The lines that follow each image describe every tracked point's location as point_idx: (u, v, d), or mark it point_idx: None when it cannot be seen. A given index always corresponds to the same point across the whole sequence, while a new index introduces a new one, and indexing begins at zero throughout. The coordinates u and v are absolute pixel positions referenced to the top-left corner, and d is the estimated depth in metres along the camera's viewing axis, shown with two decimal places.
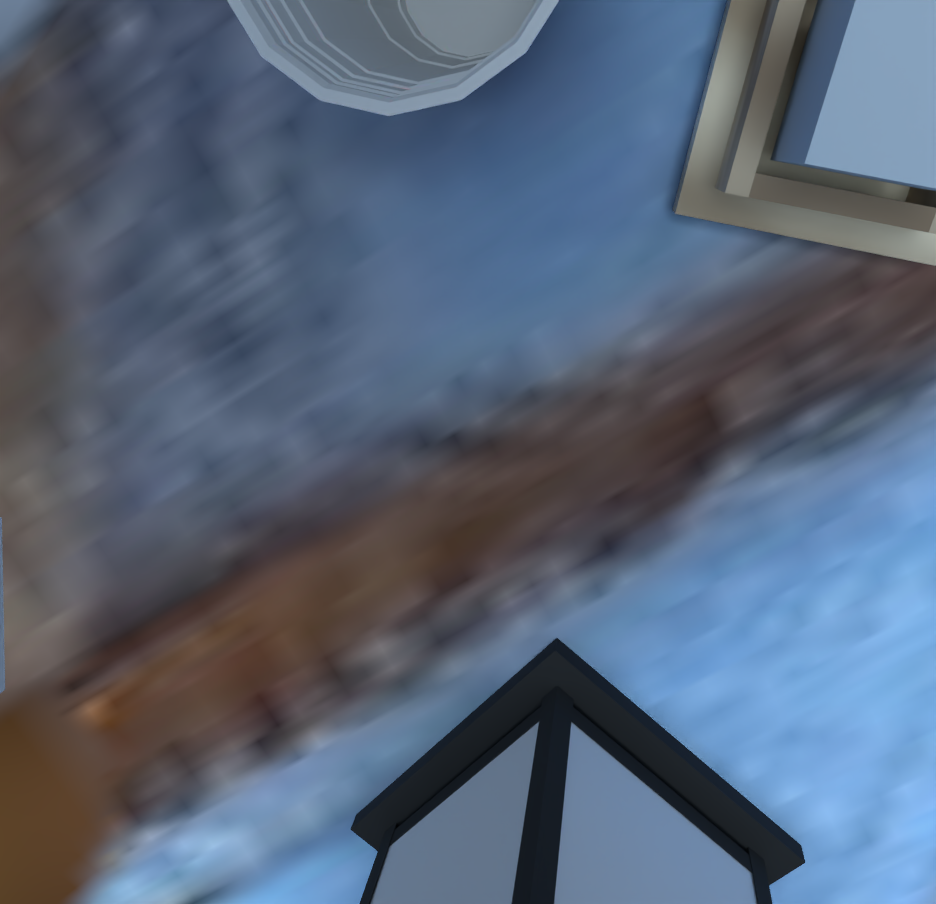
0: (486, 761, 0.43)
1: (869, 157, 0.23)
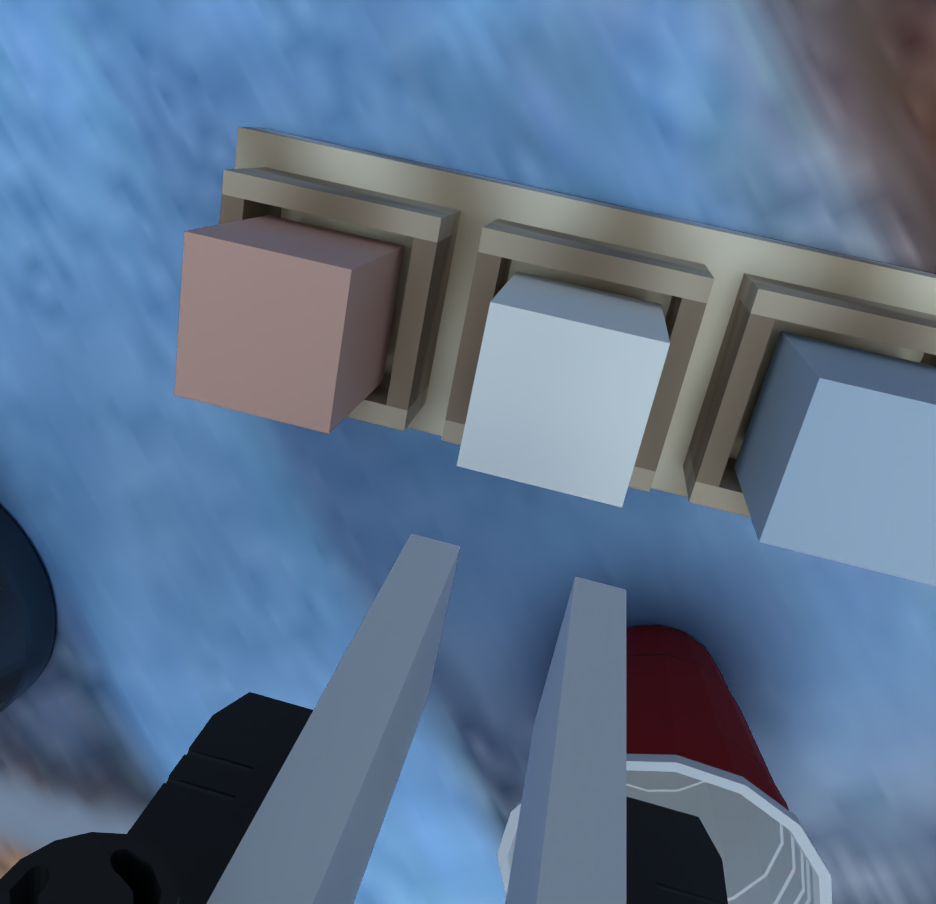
0: None
1: None
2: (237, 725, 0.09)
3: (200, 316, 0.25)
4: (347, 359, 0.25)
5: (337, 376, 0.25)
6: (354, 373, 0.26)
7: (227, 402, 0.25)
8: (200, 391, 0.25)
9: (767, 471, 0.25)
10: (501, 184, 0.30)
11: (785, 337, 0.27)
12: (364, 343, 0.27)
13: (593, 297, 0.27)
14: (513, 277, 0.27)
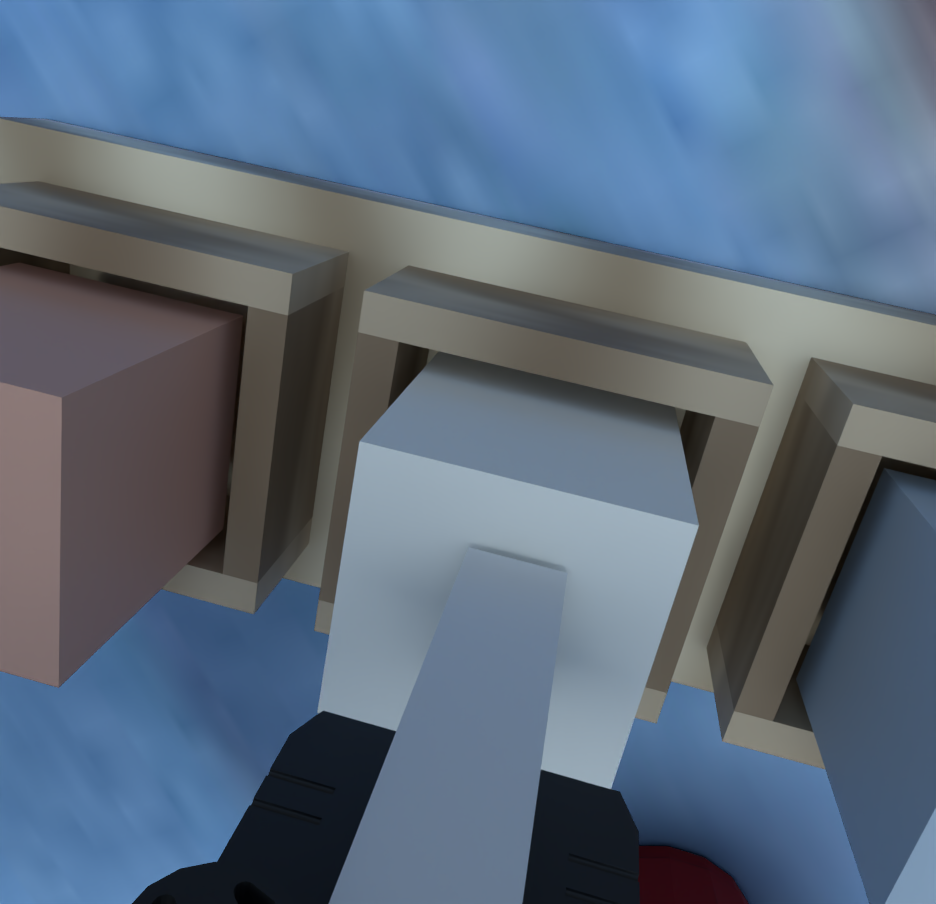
0: None
1: None
2: (314, 744, 0.09)
3: None
4: (94, 547, 0.13)
5: (65, 589, 0.13)
6: (127, 557, 0.15)
7: None
8: None
9: (881, 758, 0.13)
10: (412, 210, 0.18)
11: (898, 486, 0.15)
12: (150, 499, 0.15)
13: (561, 401, 0.16)
14: (430, 364, 0.16)
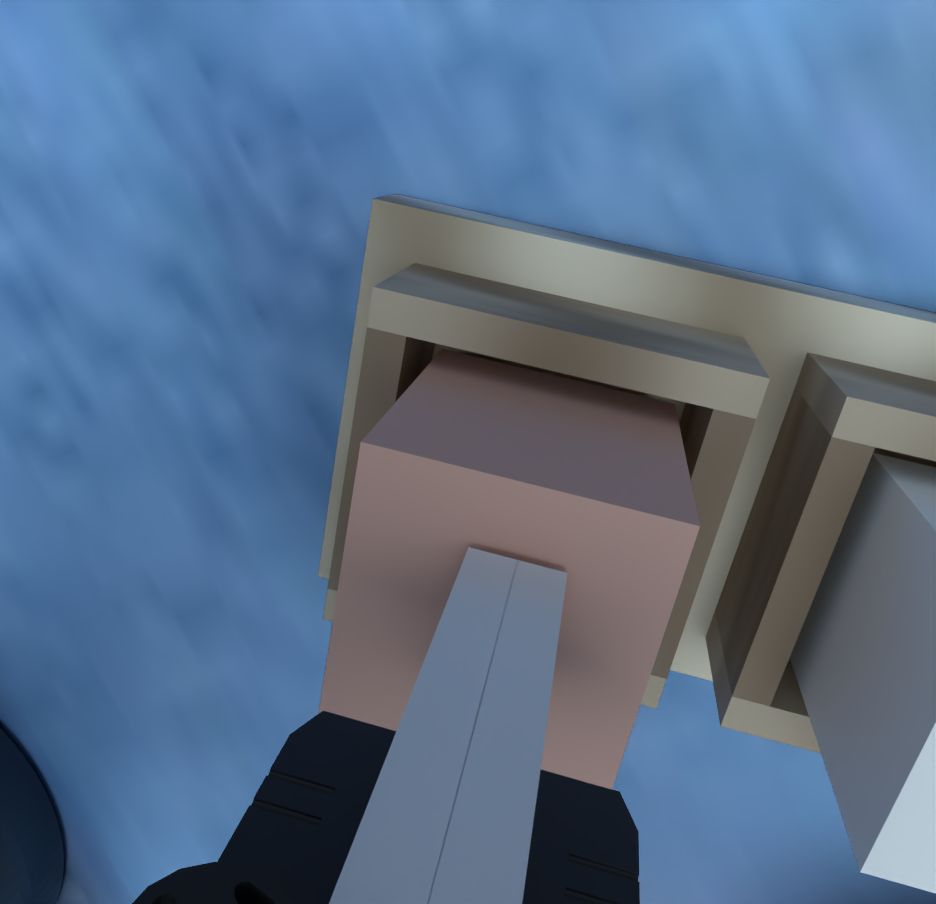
0: None
1: None
2: (315, 744, 0.09)
3: (379, 589, 0.13)
4: None
5: (639, 702, 0.13)
6: None
7: None
8: (368, 710, 0.14)
9: None
10: (818, 297, 0.18)
11: None
12: None
13: None
14: (894, 477, 0.16)
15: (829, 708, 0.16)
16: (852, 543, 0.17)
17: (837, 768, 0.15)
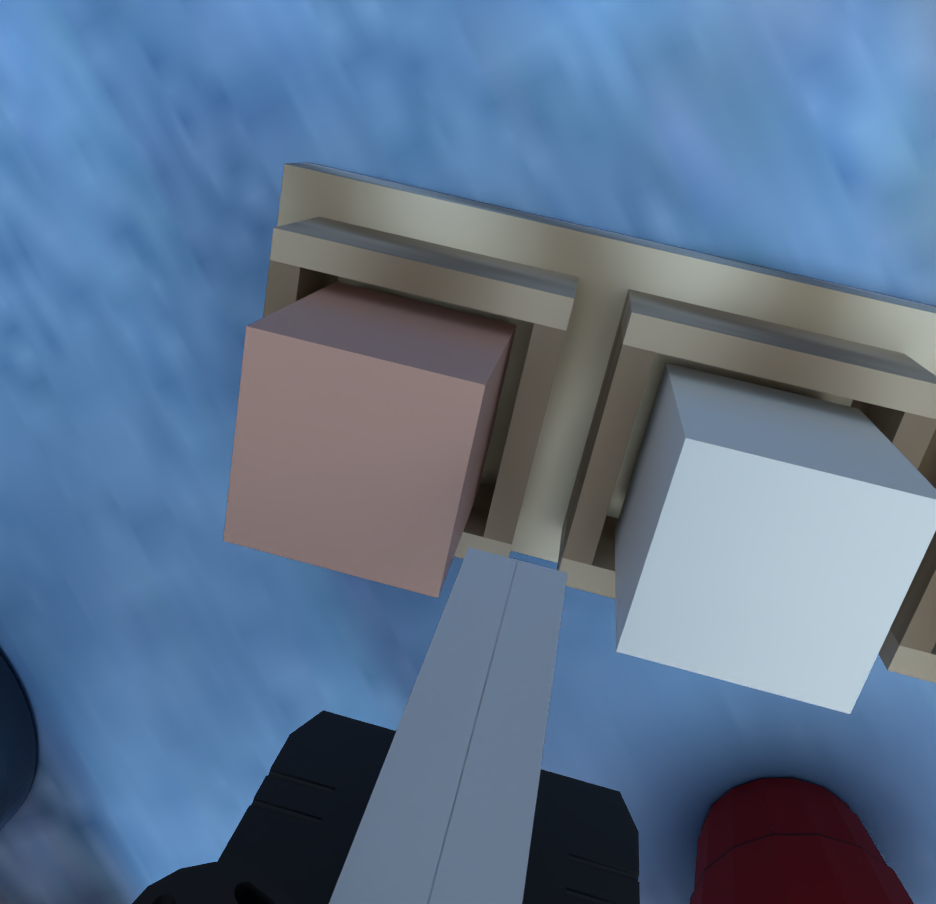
0: None
1: None
2: (315, 744, 0.09)
3: (264, 440, 0.18)
4: (463, 495, 0.18)
5: (454, 524, 0.18)
6: (464, 506, 0.20)
7: (296, 552, 0.19)
8: (260, 537, 0.19)
9: None
10: (635, 245, 0.23)
11: None
12: (476, 463, 0.20)
13: (784, 407, 0.20)
14: (671, 376, 0.20)
15: (622, 554, 0.20)
16: (649, 432, 0.21)
17: (619, 592, 0.20)
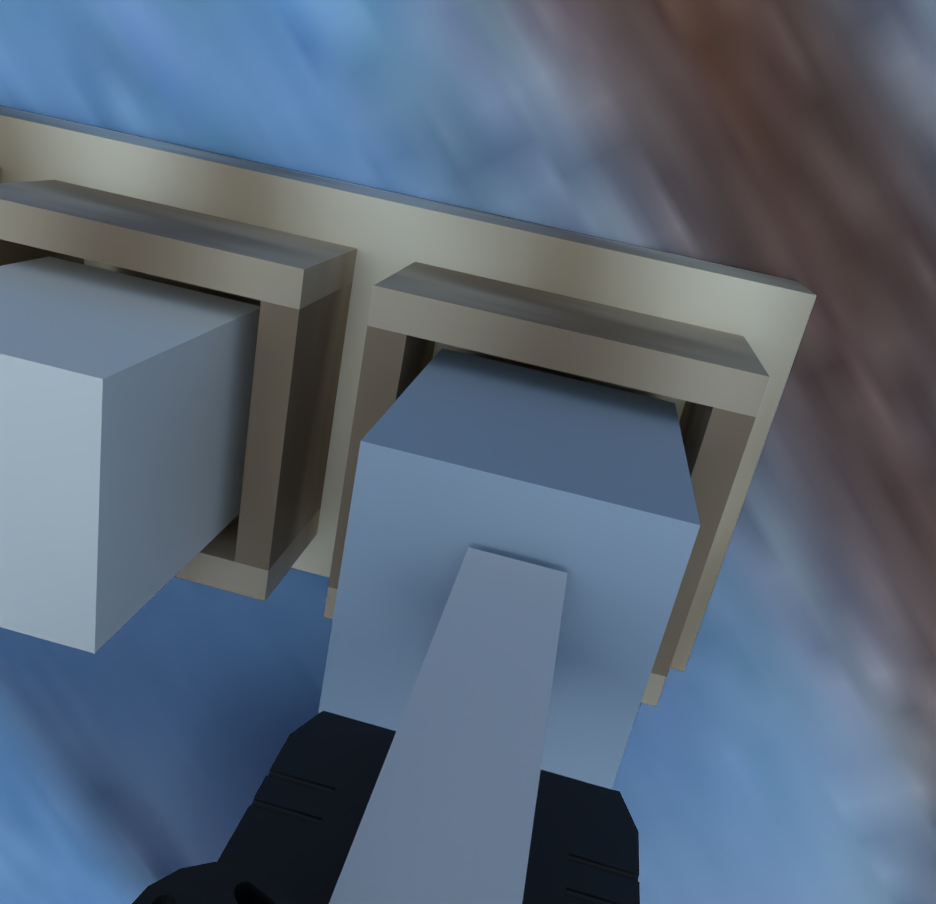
0: None
1: (606, 707, 0.13)
2: (314, 744, 0.09)
3: None
4: None
5: None
6: None
7: None
8: None
9: None
10: (52, 127, 0.20)
11: (433, 359, 0.17)
12: None
13: (121, 296, 0.17)
14: (10, 265, 0.17)
15: None
16: None
17: None
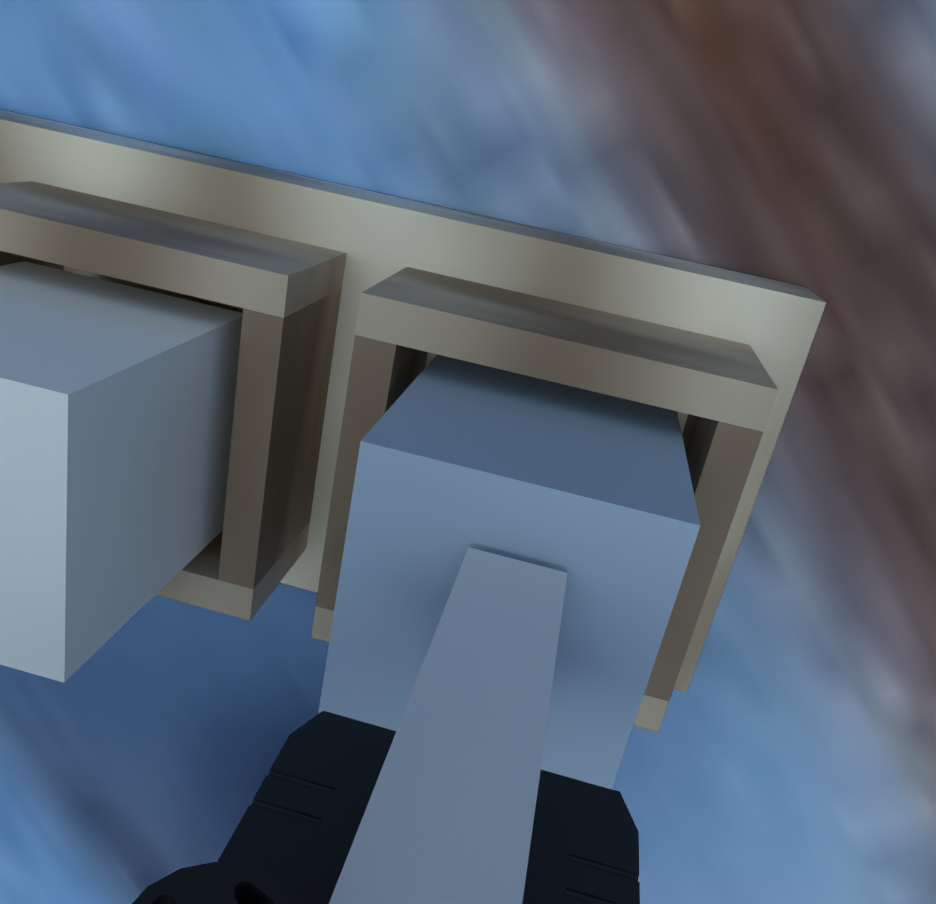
0: None
1: (606, 708, 0.13)
2: (315, 743, 0.09)
3: None
4: None
5: None
6: None
7: None
8: None
9: None
10: (30, 126, 0.19)
11: (434, 359, 0.17)
12: None
13: (96, 304, 0.16)
14: None
15: None
16: None
17: None
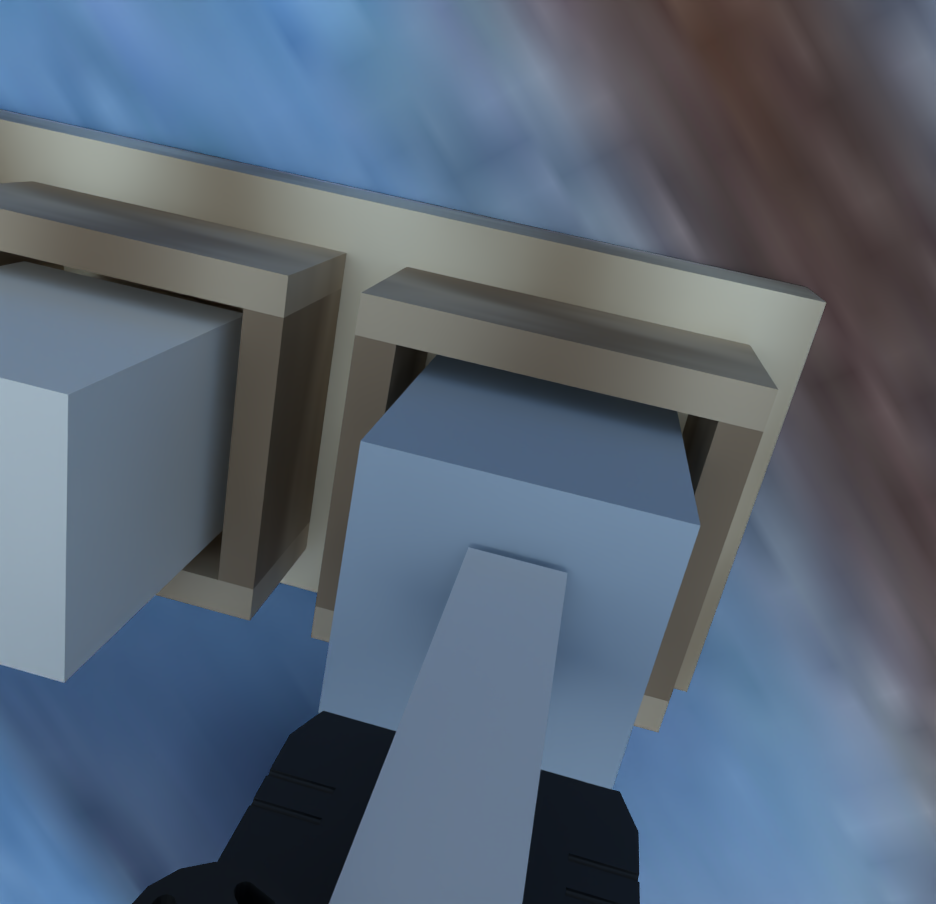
0: None
1: (606, 708, 0.13)
2: (315, 743, 0.09)
3: None
4: None
5: None
6: None
7: None
8: None
9: None
10: (30, 126, 0.19)
11: (434, 359, 0.17)
12: None
13: (96, 304, 0.16)
14: None
15: None
16: None
17: None
